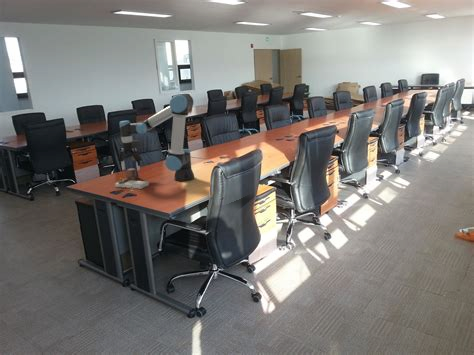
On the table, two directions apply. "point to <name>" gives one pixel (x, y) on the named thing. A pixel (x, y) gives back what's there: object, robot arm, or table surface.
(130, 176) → the block
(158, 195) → the table surface
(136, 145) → the rubber mallet
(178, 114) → the robot arm
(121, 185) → the board
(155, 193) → the table surface
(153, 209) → the table surface
